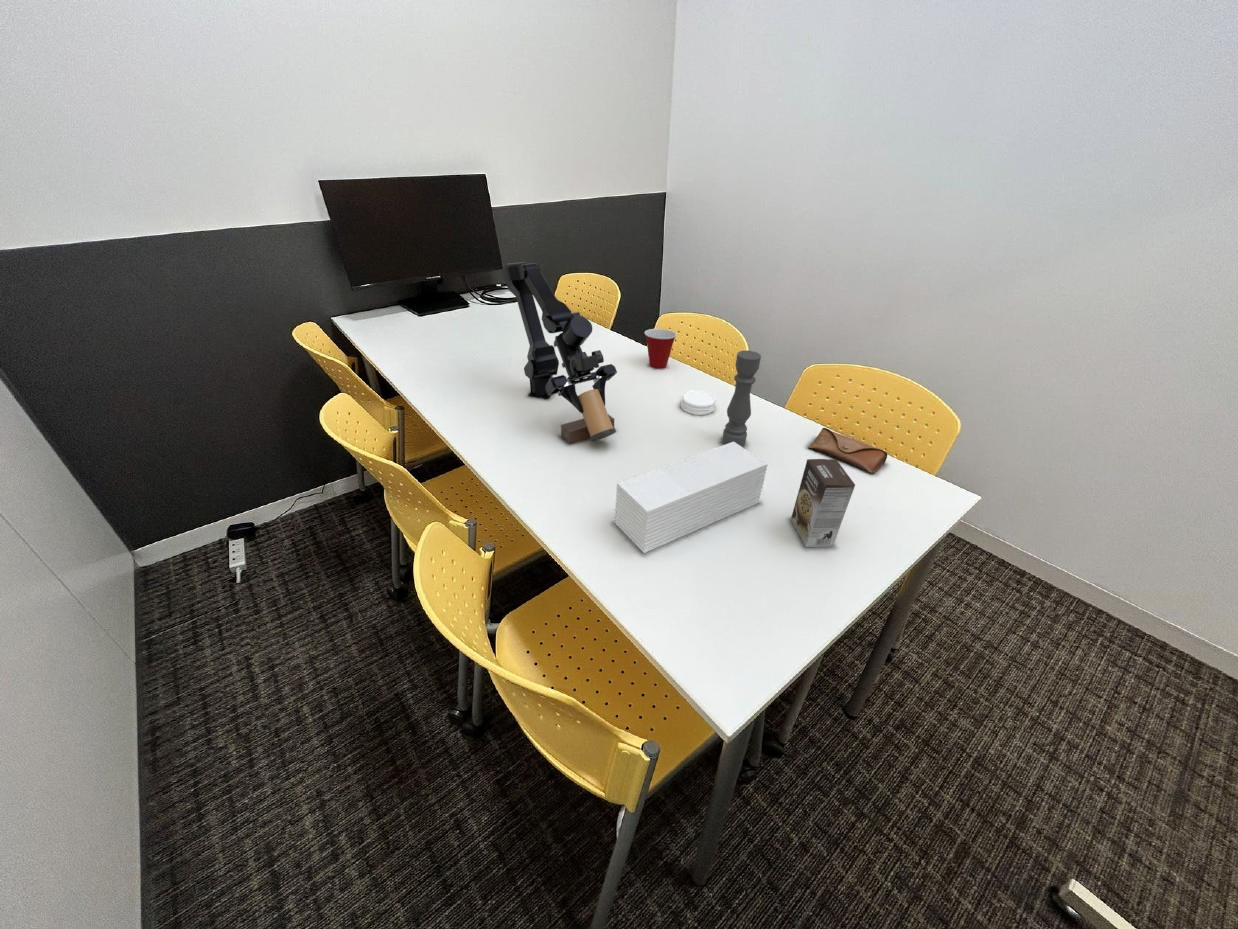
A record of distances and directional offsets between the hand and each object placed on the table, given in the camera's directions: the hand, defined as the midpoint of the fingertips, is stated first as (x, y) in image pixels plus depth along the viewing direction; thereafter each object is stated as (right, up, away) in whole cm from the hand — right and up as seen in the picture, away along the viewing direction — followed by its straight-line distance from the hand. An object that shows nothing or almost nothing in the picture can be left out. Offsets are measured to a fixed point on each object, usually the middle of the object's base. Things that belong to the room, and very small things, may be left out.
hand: (593, 409), depth 137 cm
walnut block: (-2, -6, +7) cm, 9 cm away
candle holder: (+37, -9, +5) cm, 39 cm away
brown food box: (+48, -29, -24) cm, 61 cm away
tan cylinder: (0, -7, +4) cm, 8 cm away
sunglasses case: (+66, -12, +2) cm, 67 cm away
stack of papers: (+22, -25, -20) cm, 39 cm away
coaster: (+30, +3, +21) cm, 37 cm away
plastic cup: (+20, +20, +46) cm, 54 cm away
